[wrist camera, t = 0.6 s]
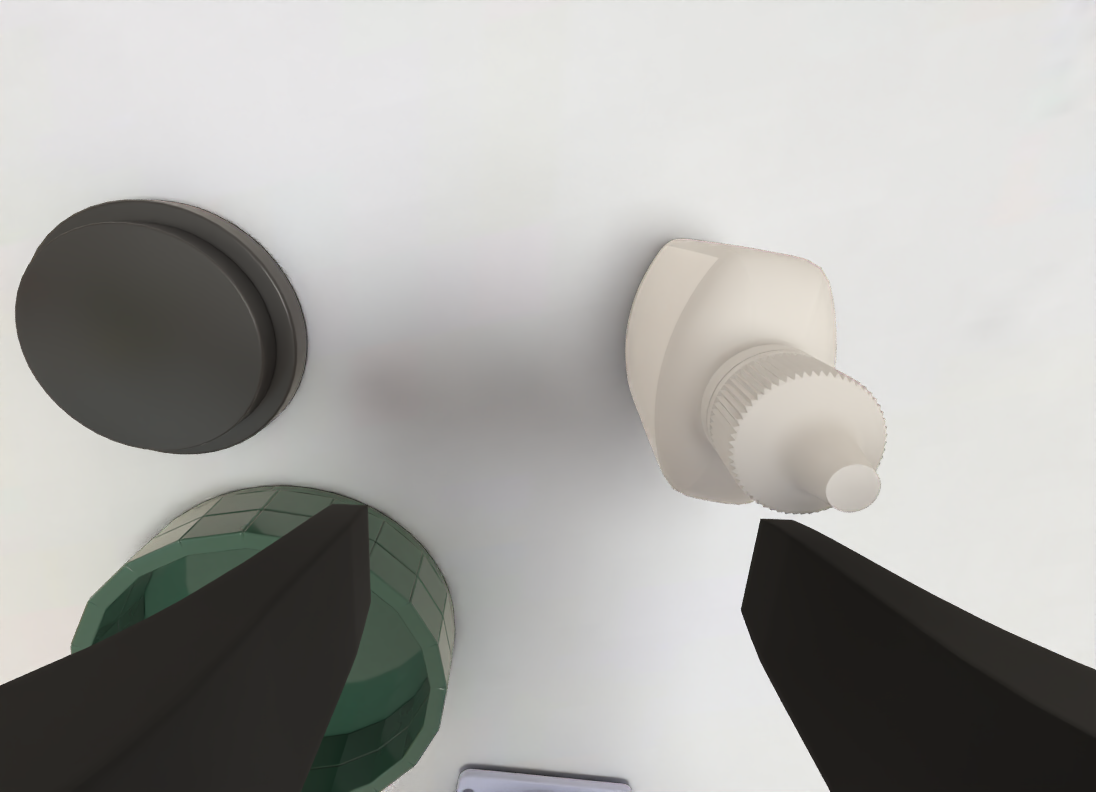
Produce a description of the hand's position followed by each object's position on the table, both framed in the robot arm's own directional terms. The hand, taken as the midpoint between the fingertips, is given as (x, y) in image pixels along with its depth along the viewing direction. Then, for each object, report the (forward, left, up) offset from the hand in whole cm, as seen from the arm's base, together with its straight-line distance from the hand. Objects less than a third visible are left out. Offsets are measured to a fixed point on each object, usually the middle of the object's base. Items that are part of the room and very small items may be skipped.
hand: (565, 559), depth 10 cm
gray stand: (0, +12, -10) cm, 15 cm away
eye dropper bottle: (+3, -4, -10) cm, 11 cm away
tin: (-11, +7, -10) cm, 17 cm away
